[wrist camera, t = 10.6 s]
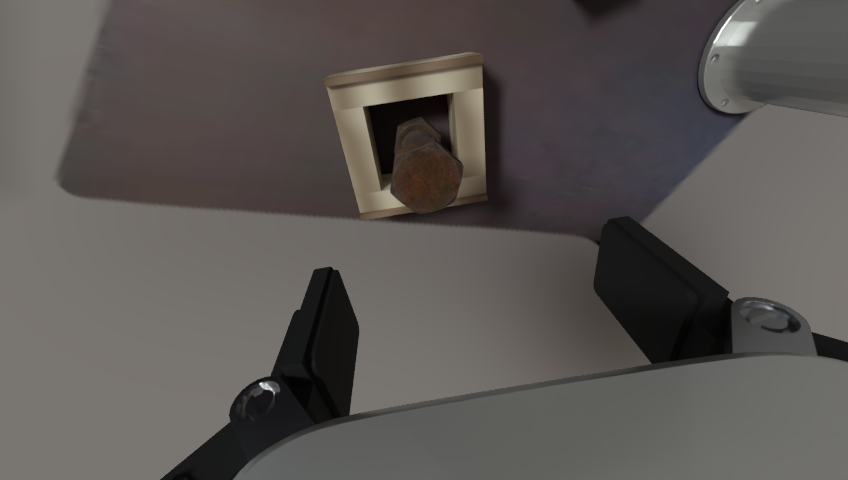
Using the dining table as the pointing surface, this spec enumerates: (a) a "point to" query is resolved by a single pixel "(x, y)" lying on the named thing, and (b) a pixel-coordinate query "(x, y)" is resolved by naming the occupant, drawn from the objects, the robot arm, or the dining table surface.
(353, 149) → the socket
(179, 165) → the dining table surface
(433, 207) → the bolt
